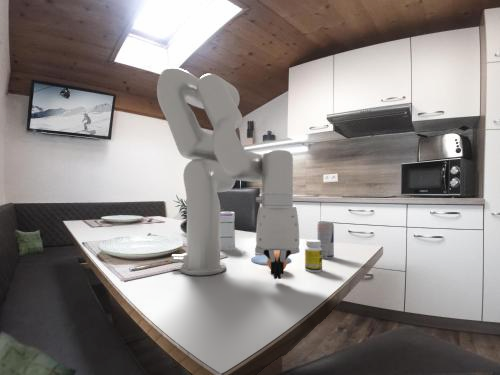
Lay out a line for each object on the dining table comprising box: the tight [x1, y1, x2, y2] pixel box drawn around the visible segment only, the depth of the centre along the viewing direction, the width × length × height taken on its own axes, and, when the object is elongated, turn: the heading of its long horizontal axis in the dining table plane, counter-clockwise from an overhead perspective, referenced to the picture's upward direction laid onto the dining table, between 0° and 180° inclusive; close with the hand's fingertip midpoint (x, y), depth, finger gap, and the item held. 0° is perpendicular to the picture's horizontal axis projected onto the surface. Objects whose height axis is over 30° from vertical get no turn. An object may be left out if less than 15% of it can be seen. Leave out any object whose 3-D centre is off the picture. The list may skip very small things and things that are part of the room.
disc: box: [250, 255, 292, 266], centre depth 85 cm, size 13×13×1 cm
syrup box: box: [220, 211, 236, 251], centre depth 102 cm, size 6×6×14 cm
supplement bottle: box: [304, 239, 323, 273], centre depth 74 cm, size 5×5×8 cm
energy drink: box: [316, 220, 335, 260], centre depth 89 cm, size 5×5×12 cm
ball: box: [267, 251, 287, 270], centre depth 72 cm, size 6×6×6 cm
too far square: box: [254, 250, 280, 256], centre depth 97 cm, size 10×10×1 cm
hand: (277, 277), depth 63 cm, fingers closed
